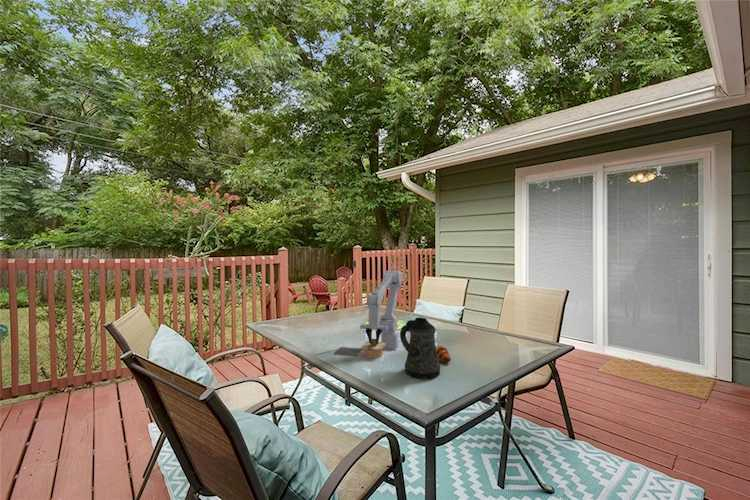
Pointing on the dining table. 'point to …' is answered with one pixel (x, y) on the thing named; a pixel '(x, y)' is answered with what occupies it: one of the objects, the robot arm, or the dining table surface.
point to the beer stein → (420, 349)
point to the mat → (347, 351)
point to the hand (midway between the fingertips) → (373, 343)
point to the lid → (373, 345)
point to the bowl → (373, 353)
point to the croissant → (442, 354)
